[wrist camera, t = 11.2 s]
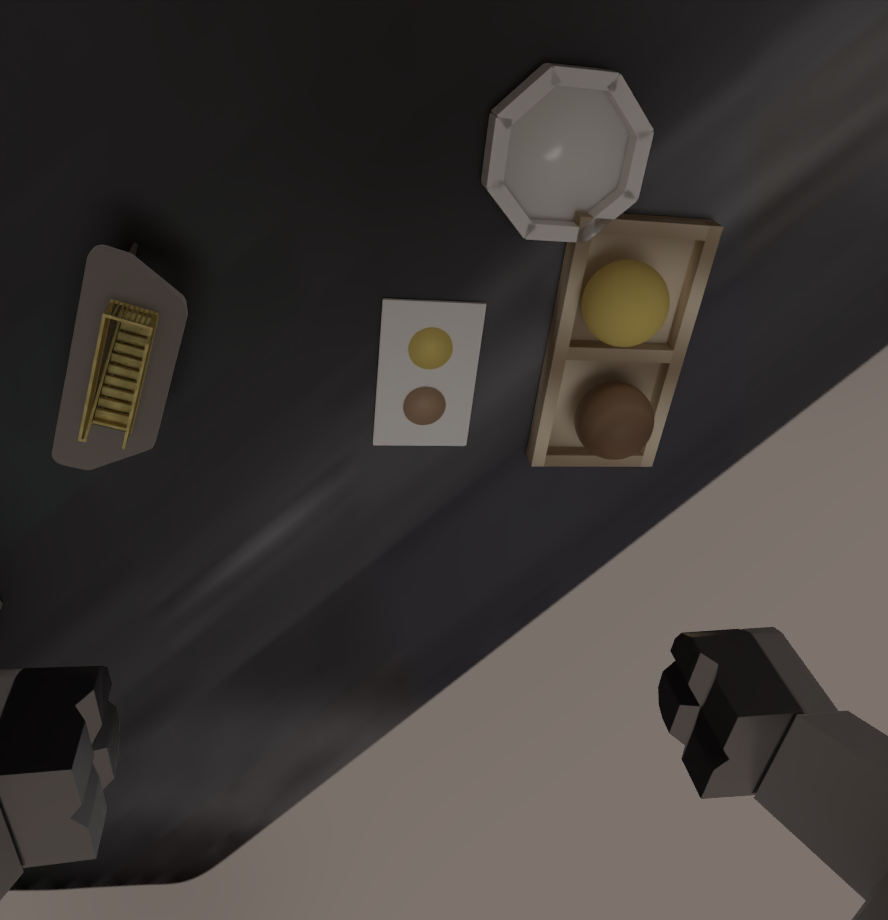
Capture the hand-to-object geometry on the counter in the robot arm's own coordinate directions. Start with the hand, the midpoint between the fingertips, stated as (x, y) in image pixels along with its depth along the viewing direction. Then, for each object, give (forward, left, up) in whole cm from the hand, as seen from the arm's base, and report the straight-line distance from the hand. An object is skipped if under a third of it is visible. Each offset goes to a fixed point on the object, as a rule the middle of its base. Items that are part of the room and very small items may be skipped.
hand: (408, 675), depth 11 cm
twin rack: (+6, +14, -27) cm, 31 cm away
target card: (+8, +5, -27) cm, 29 cm away
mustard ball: (+3, +14, -26) cm, 30 cm away
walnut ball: (+10, +14, -27) cm, 32 cm away
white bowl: (-3, +10, -27) cm, 29 cm away
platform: (+6, -9, -28) cm, 30 cm away
